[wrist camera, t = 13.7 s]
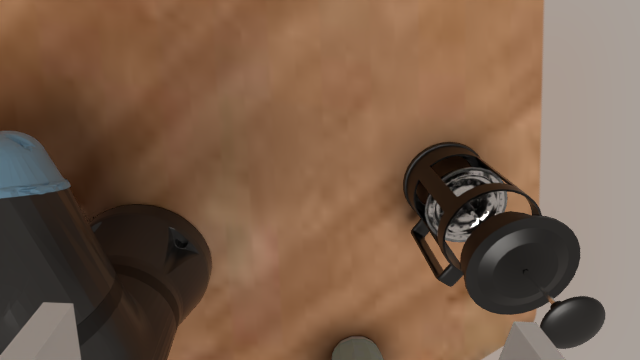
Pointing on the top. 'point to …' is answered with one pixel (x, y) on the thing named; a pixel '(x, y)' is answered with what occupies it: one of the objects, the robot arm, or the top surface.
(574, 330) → the french press
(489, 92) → the top surface
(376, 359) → the disposable coffee cup
